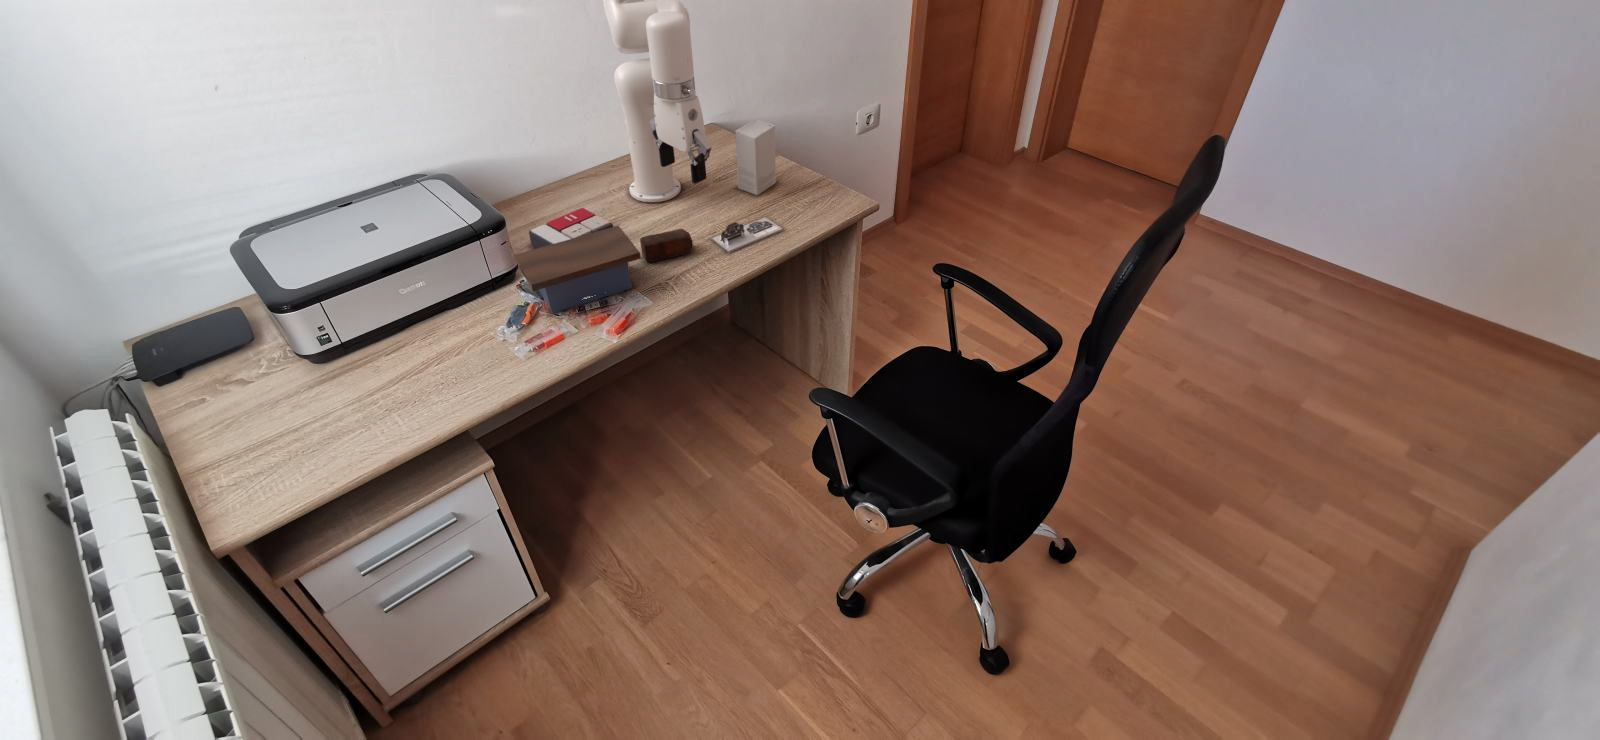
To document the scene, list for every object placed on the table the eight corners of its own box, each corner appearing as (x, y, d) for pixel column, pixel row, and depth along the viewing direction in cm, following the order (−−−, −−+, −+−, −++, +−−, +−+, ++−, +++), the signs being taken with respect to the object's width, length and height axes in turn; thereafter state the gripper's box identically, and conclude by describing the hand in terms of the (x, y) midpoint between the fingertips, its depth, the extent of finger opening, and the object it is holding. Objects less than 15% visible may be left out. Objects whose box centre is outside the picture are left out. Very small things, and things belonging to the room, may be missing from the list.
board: (515, 261, 150) (513, 254, 149) (619, 231, 158) (618, 225, 157) (533, 291, 142) (531, 285, 141) (641, 258, 151) (639, 252, 150)
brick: (647, 264, 162) (644, 246, 158) (642, 255, 164) (639, 236, 161) (693, 253, 165) (691, 234, 162) (687, 244, 168) (685, 226, 165)
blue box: (537, 288, 155) (529, 260, 150) (615, 264, 161) (609, 237, 157) (552, 313, 149) (544, 284, 144) (632, 288, 155) (627, 259, 150)
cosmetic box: (757, 176, 192) (755, 117, 181) (778, 183, 189) (777, 124, 179) (736, 189, 187) (733, 129, 176) (757, 196, 184) (755, 136, 174)
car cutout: (729, 252, 165) (728, 234, 162) (712, 239, 169) (711, 222, 166) (782, 230, 172) (782, 213, 169) (765, 218, 176) (764, 201, 173)
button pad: (613, 221, 168) (557, 245, 159) (615, 237, 171) (561, 263, 162) (582, 205, 173) (527, 228, 164) (585, 221, 176) (530, 245, 167)
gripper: (721, 94, 134) (726, 181, 145) (661, 69, 143) (671, 152, 154) (688, 106, 130) (697, 194, 141) (629, 79, 139) (641, 164, 150)
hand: (683, 172), depth 148 cm, fingers open, 9 cm apart
